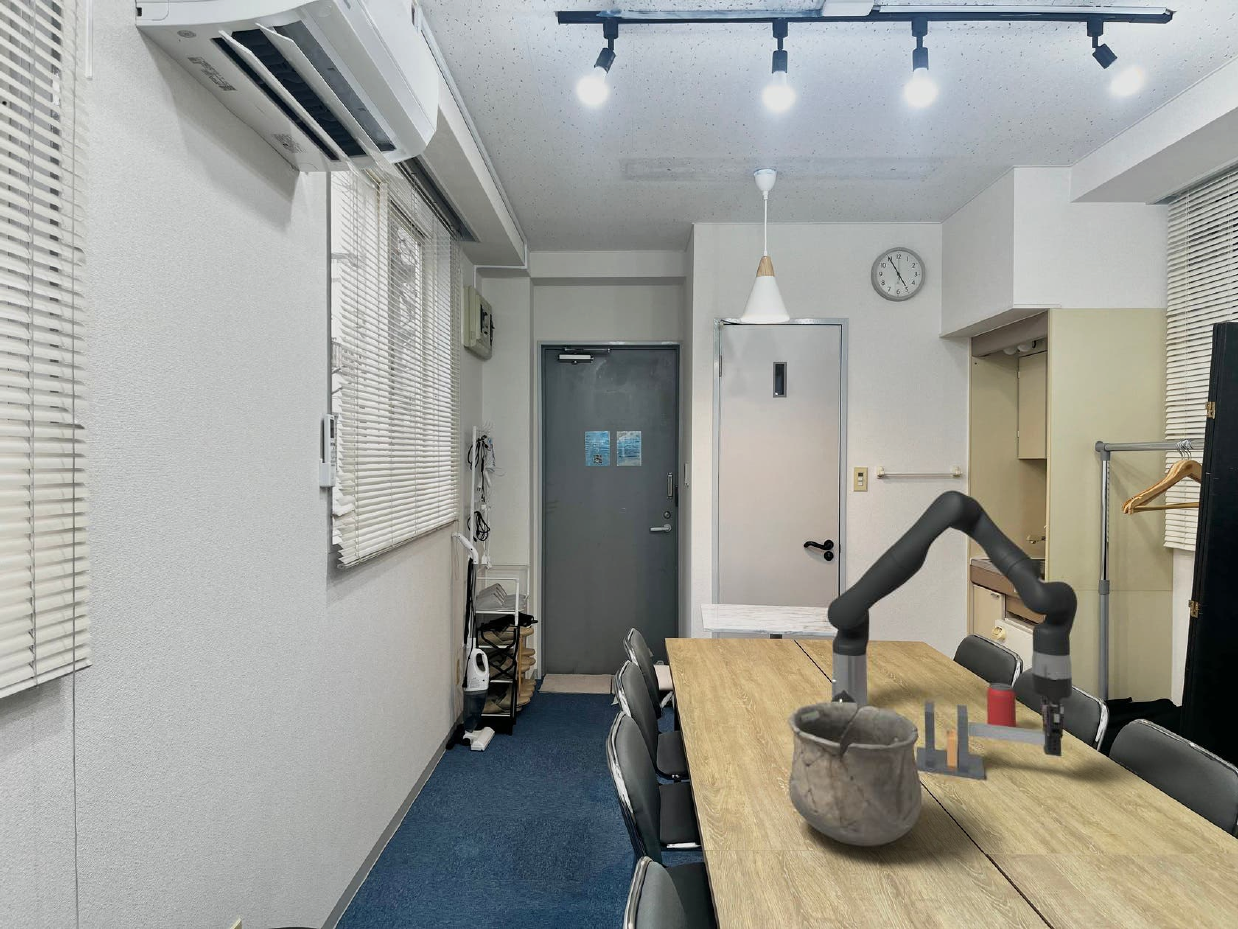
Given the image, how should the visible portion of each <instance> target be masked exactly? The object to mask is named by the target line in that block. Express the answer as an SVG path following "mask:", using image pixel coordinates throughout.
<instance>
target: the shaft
mask: <svg viewBox="0 0 1238 929" xmlns="http://www.w3.org/2000/svg"><path fill="white" fill-rule="evenodd" d="M1052 731H1058V729H1052ZM968 737H974V738H975V737H977V738H985V739H991V740H999V741H1007V742H1016V743H1021V744H1022V743H1023V744H1028V745H1030V744H1031V745H1036V746H1037V745H1038V746H1043V752H1044V754H1045V755H1047V756H1053V757H1054V756H1055V757H1062V738H1060V754H1059V755H1056V754H1050V753H1049V751H1048V735H1047V725H1046V724H1045V723H1044V722H1043V721H1042V730H1038V729H1032V728H1031V729H1030V728H1022V727H1016V728H1015V727H1007V726H999V725H990V724H987V723H981V722H973V721H968Z"/></svg>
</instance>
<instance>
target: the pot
mask: <svg viewBox="0 0 1238 929" xmlns="http://www.w3.org/2000/svg"><path fill="white" fill-rule="evenodd" d="M787 723H788V725H789V727H790V729H791V730H792V733H793V734H792V735H793V736H792V740H793V745H794V747H793V753H792V762H791V772H790V776H789V779H788V792H789V799H790V801H791V803H792V806H793V807H794V808H795V810H796V811H797V813H798V814H799V815H800V816H801V817H802V818H803V819H804V820H805V821H806V822H807V823H809V824H810V825H811V826H812V827H813V828H814V829H815V830H816V831H818V832H820V833H821V834H823V835H825V836H827V837H829V838H830V839H832V840H834V841H837V842H839V843H842V844H846V845H847V844H848V845H850V846H851V845H853V846H859V847H860V846H861V847H878V846H882V845H886V844H889V843H891V842H894V841H897V840H898V839H900V838H901V837H903V836H904V835H905V834H907V833H909V831H910V830H911V829H913V828H914V826H915V825H916V823H917V821H918V819H919V816H920V812H921V808H922V801H923V800H922V797H923V794H922V784H921V778H920V775H919V770H917V766H916V758H915V749H914V748H915V744H916V742H917V741H918V739H919V733H918V727H917V726H916V725H915V724H914V723H913V722H912V721H911V720H909V719H908V718H907V717H906V716H904V715H902V714H900V713H898V712H896V711H893V710H891V709H885V708H878V707H876V706H874V705H873V706H872V705H867V706H865V707H863V708H859V706H858V703H848V702H845V703H844V702H831V701H822V702H816V703H815V704H808V705H801V706H799V707H798V708H796V709H795V710H794V711H793V712H792V713H791V714H790V715H789V716H788V719H787Z"/></svg>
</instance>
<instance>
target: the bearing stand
mask: <svg viewBox="0 0 1238 929" xmlns="http://www.w3.org/2000/svg"><path fill="white" fill-rule="evenodd" d="M956 706H957V707H956V710H957V712H956V717H957V725H956V726H957V767H956V766H949V765H947V750H946V749H945V750H944V749H936V746H935V745H936V742H935V741H936V739H935V738H936V737H935V736H936V735H935V732H936V730H935V701H926V700H925V701H924V747H923V746H922V747H921V746H916V758H915V761H916V766H917V771H921V772H926V771H927V773H934V774H940V775H947V776H954V777H961V778H967V779H972V780H973V779H974V780H981V781H985V771H984V765H983V759H982V755H980V754H972V753H970V752H969V749H970V748H969V714H968V706H967V705H962V704H957V705H956Z"/></svg>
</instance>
